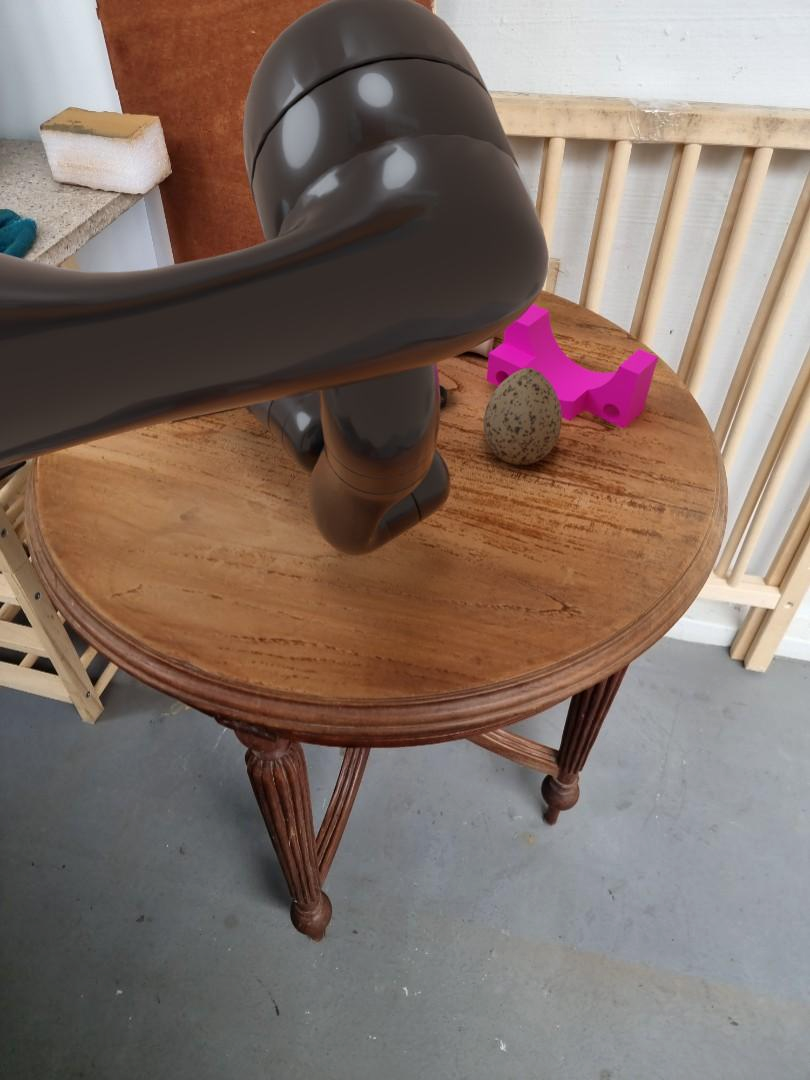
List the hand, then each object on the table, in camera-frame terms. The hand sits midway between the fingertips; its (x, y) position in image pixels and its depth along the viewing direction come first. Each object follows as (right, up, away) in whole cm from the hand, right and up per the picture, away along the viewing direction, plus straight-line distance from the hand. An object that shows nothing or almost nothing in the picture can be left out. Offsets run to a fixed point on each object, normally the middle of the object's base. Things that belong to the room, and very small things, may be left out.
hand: (209, 299), depth 77 cm
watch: (+20, -10, +4) cm, 23 cm away
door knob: (+28, 0, +13) cm, 31 cm away
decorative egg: (+30, -16, -2) cm, 34 cm away
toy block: (+36, -10, +4) cm, 37 cm away
